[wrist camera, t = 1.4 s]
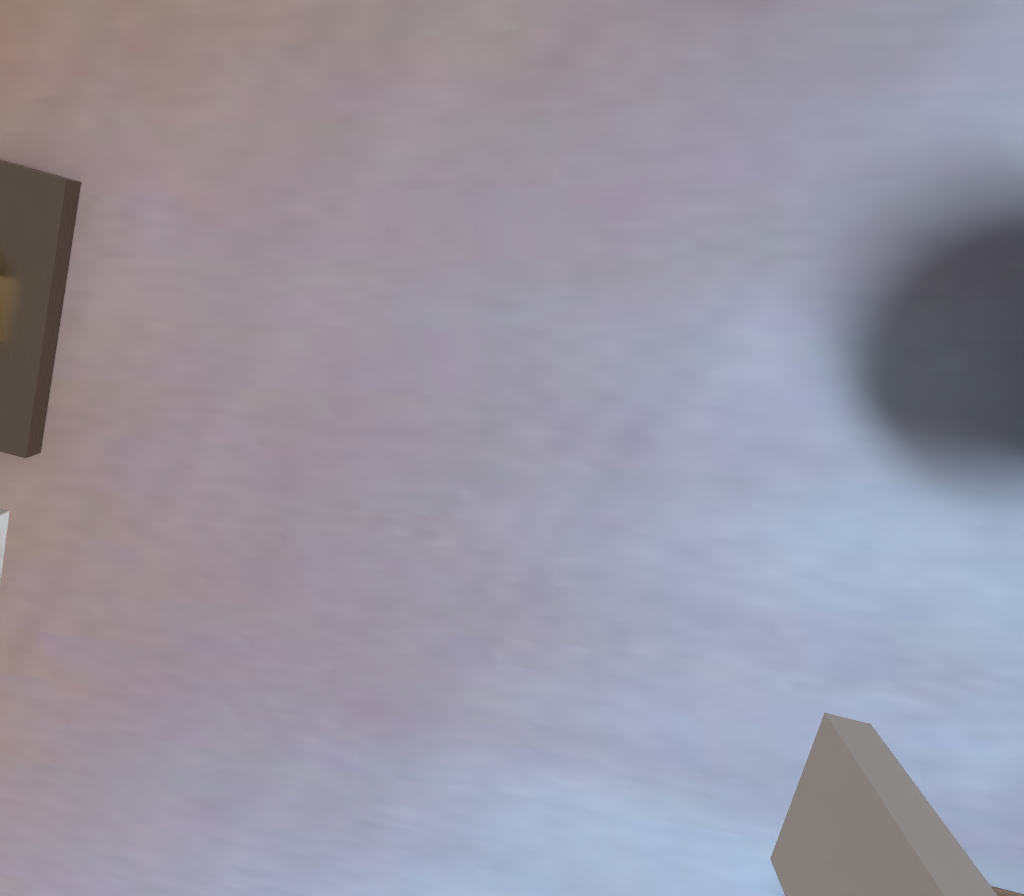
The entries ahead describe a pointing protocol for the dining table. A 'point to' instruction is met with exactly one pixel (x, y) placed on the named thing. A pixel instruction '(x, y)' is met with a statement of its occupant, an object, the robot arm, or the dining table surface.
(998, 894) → the storage crate
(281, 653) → the dining table surface
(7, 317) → the lamp base
